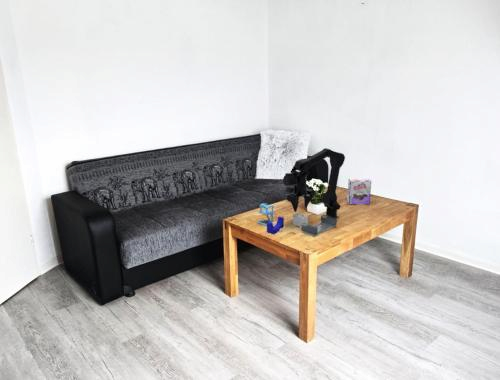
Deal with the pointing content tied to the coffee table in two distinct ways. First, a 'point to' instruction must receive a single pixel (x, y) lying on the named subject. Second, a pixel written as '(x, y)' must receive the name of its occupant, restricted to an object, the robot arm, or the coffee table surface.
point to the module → (299, 219)
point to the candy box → (359, 191)
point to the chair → (266, 213)
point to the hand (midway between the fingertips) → (300, 209)
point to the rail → (319, 226)
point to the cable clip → (275, 228)
